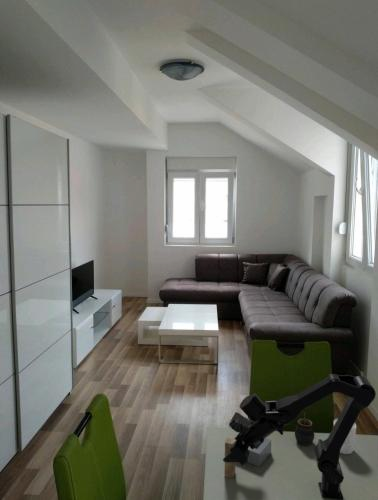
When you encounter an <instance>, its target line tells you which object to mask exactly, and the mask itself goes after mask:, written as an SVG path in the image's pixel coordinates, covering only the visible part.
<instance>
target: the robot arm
mask: <svg viewBox="0 0 378 500" xmlns="http://www.w3.org/2000/svg"><path fill="white" fill-rule="evenodd" d="M334 393H340V394H343V395H344V396H347V399H346V403H345V404H344V406H343V409H342V411H341V412H340V414H339V416H338V417H337V418H336V419H337V421H336V423H335V425H334V424H333V427H332V428H331V432H330V433H329V435H328V437H327V438H326V439H325V440H322V439H321V438H319V439H318V441H317V443H316V445H315V446H314V448H313V449H314V457H315V462H316V466H317V470H318V471H319V473H321V481H319V482H317V483H318V484H317V485H318V487H319V491H320V496H321V497H322V498H324V499H336V500H344V495H343V492H342V489H341V486H342V485H341V484H342V483H343V481H344V479H345V477H344V473H343V470H342V466H341V464H340V456H341V453H340V450H341V448H342V446H343V444H344V442H345V440H346V438H347V436H348V434H349V432H350V431H351V429H352V427H353V425H354V423H355V424H356V421H357V418H358V417H359V416H360V414H361V412H362V411H364V410H366V408H368V407H369V406H370V405H371V404H372V403H373V401H375V398H376V395H377V394H376V393H377V392H376V391H375V387H374V386H373V385H372V383H371V382H370V380H369V379H368V378H367V377H365V376H364V375H358V376H354V375H349V374H346V375H345V374H343V375H342V374H341V375H340V374H336V373H329V374H328V375H327V377H325V378H323V379H322V380H320V381H318V382H316V383H315V384H313V385H311V386H309V387H307V388H305V389H304V390H303V391H301V392H299V393H297V394H295V395H287V396H284V397H281V398H279V399H277V400H267V401H263V400H262V399H261V398H260V397H259V395H258V394H257V393H256V392H254V393H253V394H249V395H247V396H246V397H244V398H243V399H242V401H241V402H240V404H239V409H241V411H242V412H243V413H244V414H245V415H246V416H247V418H246V416H244V415H242V414H241V413H240V412H237V411H235V413H234V414H233V416H232V418H231V419H230V421H229V423H228V426H229V428H230V429H231V430H233V431H234V432H235V433H238V434H236V436H235V438H234V439H235V440H236V441H235V442H234V443H233V444H232V445H231V447H230V452H229V453H228V454H227V455H226V456H225V455H224V457H223V459H222V460H223V462H224V463H225V462H236V464H240V465H241V466H245V465H246V464H247V463H249V462H248V460H249V457H250V452H249V451H248V448H249V446H250V448H251V449H254V448H255V445H256V444H258V443H259V442H261V443H263V442H264V439H265V438H266V439H267V438H268V437H269V436H271V435H272V434H274V432H276V431H277V432H278V433H279V434H280V435H281V436H283V435H284V428H285V426H286V425H289V424H291V423H292V422H293V421H295V420H296V419H297V418H299V415H301V413H302V412H304V410H305V409H307V408H309V407H311V406H313V405H314V404H316V403H318V402H319V401H321V400H323V399H325V398H326V397H328V396H330V395H332V394H334Z"/></svg>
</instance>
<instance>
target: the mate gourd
mask: <svg viewBox="0 0 378 500" xmlns="http://www.w3.org/2000/svg"><path fill="white" fill-rule="evenodd" d="M296 422H297V424H296V427H295V431H294V438H295V439H296V441H297V442H298V443H299V444H301V445H304V446H308V445H310V444H312V443H313V442H314V440H315V431H314V428H313V427H314V425H313V422H312V421H311V420H310V419H307V418H306V412H304V411H303V418H299V419H298V420H297V421H296Z"/></svg>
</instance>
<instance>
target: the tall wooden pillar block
mask: <svg viewBox="0 0 378 500" xmlns="http://www.w3.org/2000/svg"><path fill="white" fill-rule="evenodd" d="M235 441H236V440H235V438H231V437H227V438H226V440H225V442H224V457H225V456H226V455H227V454H228V453H229V452H230V447H231V445H232V444H233V443H234V442H235ZM236 465H237V462H224V474H223V475H224V477H227V478H230V479H234V477H235V475H236Z"/></svg>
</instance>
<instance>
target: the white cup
mask: <svg viewBox="0 0 378 500" xmlns="http://www.w3.org/2000/svg"><path fill="white" fill-rule="evenodd" d="M337 419H338V418H336V419H334V420H333V426H334V425H335V423H336V421H337ZM356 433H357V425H356V422H355V423H354V425H353V427H352V429H351V431H350V432H349V434H348V436H347V438H346V440H345V442H344V444H343V446H342V448H341V450H340V454H343V455H350V454H352V453H354V448H355V440H356Z"/></svg>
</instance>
